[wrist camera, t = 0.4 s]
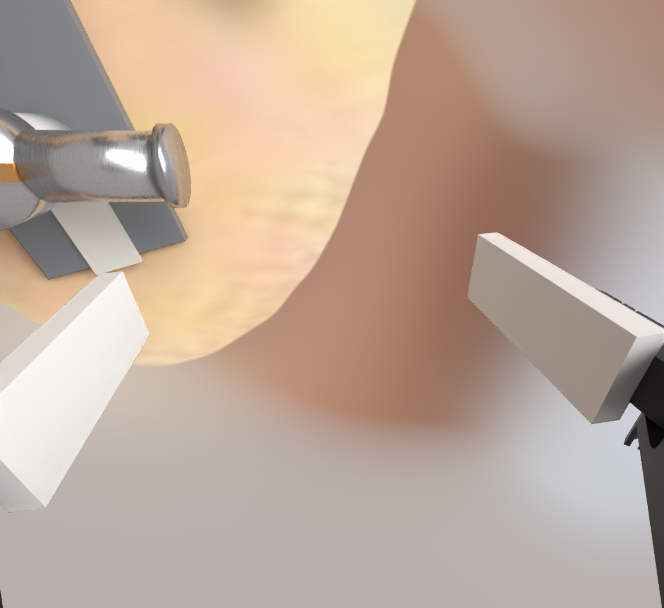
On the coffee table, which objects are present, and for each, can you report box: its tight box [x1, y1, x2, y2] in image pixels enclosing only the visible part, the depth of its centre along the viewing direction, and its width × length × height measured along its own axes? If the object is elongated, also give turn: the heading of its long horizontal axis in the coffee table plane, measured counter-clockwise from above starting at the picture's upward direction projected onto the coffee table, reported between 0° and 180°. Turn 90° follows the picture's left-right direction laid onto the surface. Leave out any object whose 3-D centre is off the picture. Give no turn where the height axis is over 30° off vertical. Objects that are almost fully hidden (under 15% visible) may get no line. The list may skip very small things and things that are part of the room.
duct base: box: [0, 0, 188, 280], centre depth 29 cm, size 23×16×7 cm
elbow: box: [0, 107, 191, 231], centre depth 25 cm, size 18×8×6 cm, turn 89°
